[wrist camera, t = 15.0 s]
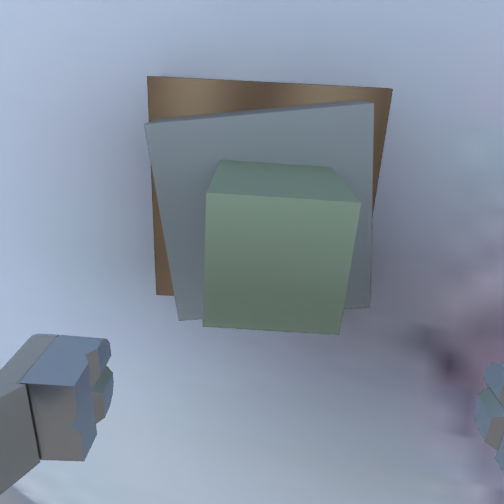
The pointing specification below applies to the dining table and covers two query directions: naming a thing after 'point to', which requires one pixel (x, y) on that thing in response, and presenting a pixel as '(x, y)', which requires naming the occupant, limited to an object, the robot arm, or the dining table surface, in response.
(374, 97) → the walnut base slab
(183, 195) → the grey top slab
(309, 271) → the sage block
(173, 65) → the dining table surface
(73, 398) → the robot arm
